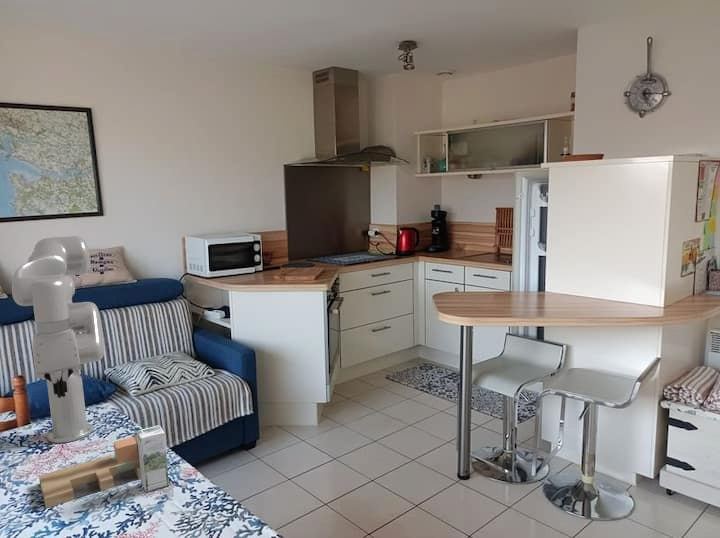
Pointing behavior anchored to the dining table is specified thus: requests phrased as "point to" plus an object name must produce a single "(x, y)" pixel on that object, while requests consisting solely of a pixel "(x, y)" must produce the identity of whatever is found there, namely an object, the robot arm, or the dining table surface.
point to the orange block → (125, 450)
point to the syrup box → (152, 458)
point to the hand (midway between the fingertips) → (61, 395)
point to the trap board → (87, 479)
